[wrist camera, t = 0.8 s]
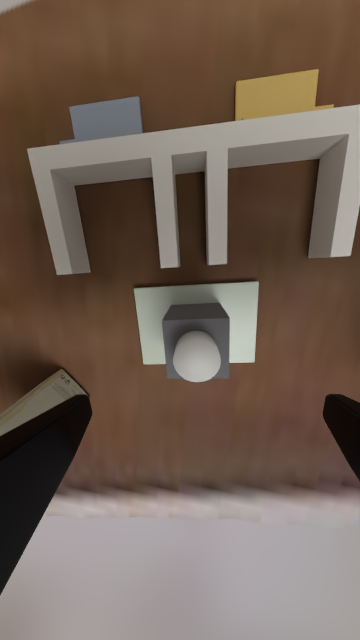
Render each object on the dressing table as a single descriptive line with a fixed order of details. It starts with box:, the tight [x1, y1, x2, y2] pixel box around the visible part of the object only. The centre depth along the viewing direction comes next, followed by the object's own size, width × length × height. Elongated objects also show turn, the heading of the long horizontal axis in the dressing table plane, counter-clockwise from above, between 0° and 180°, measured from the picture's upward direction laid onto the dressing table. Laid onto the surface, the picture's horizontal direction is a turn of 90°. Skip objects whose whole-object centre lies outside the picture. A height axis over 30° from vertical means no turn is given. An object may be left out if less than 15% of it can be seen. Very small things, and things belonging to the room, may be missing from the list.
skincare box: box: [0, 369, 87, 436], centre depth 14 cm, size 6×4×12 cm
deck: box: [134, 281, 259, 364], centre depth 16 cm, size 10×7×1 cm
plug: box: [162, 303, 230, 382], centre depth 13 cm, size 4×4×6 cm
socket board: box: [27, 69, 360, 275], centre depth 12 cm, size 20×11×2 cm, turn 94°
